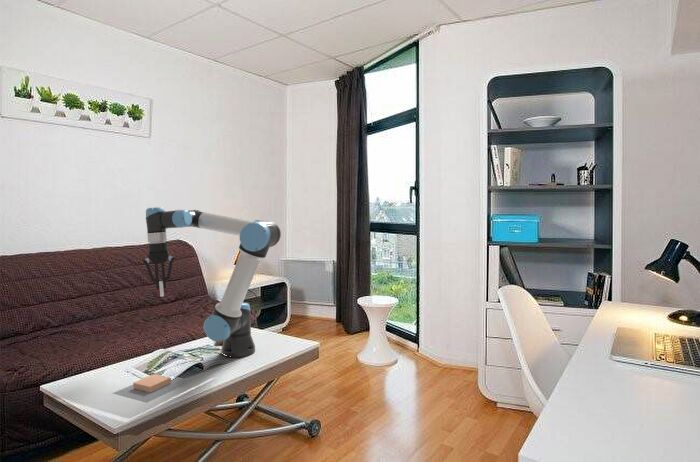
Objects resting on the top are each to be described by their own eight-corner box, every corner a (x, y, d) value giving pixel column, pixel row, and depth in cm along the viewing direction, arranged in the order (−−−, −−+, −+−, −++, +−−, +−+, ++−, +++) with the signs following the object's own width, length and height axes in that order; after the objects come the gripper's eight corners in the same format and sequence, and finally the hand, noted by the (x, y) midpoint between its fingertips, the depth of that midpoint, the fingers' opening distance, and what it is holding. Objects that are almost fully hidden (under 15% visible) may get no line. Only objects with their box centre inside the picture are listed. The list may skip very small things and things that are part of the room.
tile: (133, 382, 156) (149, 386, 152) (154, 374, 164) (170, 377, 160) (133, 388, 156) (150, 393, 152) (154, 379, 164) (171, 383, 160)
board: (112, 395, 153) (112, 393, 153) (159, 375, 171) (159, 373, 171) (147, 405, 145) (146, 402, 145) (192, 383, 163) (192, 380, 163)
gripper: (173, 241, 194) (177, 293, 194) (141, 243, 188) (145, 297, 189) (173, 241, 187) (178, 295, 187) (140, 244, 181) (145, 299, 182)
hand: (162, 296), depth 188 cm, fingers closed
